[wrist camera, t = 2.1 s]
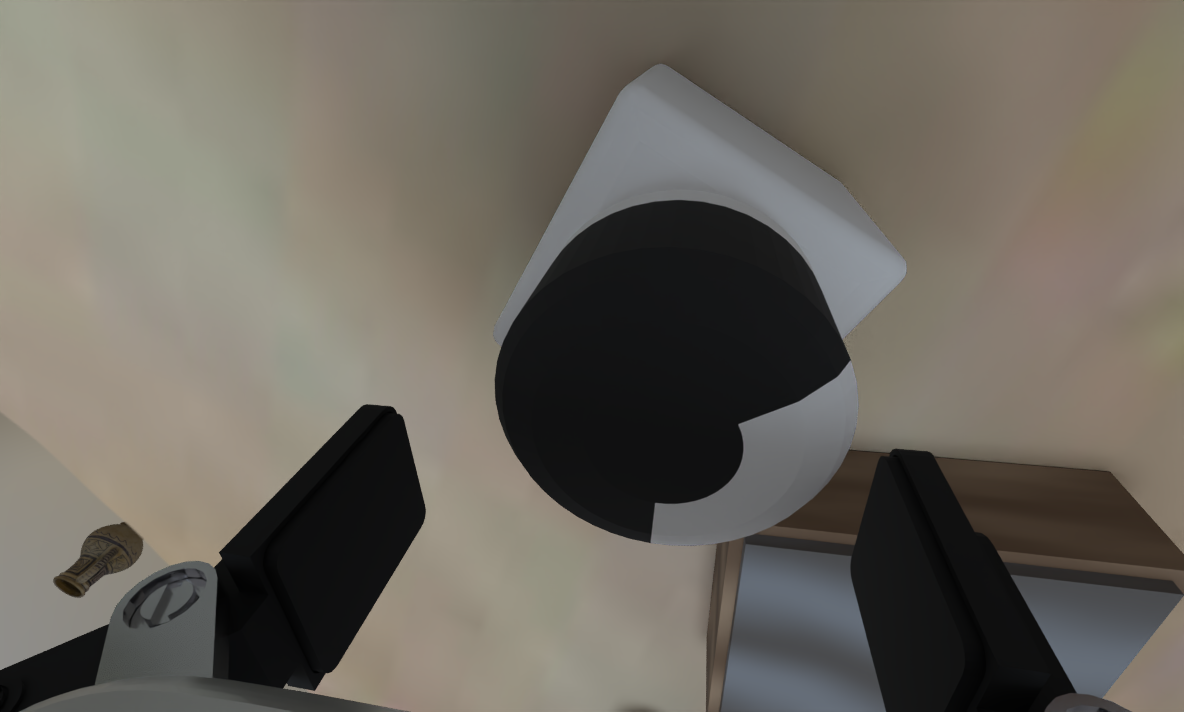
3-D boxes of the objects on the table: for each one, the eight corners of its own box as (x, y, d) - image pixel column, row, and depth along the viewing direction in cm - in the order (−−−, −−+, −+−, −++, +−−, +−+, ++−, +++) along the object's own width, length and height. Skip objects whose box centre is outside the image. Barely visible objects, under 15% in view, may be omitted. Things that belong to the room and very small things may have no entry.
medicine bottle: (551, 248, 20) (392, 471, 10) (657, 57, 16) (572, 109, 6) (712, 346, 21) (714, 642, 11) (848, 185, 17) (1039, 410, 7)
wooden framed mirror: (728, 440, 23) (732, 532, 19) (1110, 472, 21) (1212, 586, 16) (706, 638, 30) (705, 737, 26) (988, 680, 28) (1038, 797, 24)
